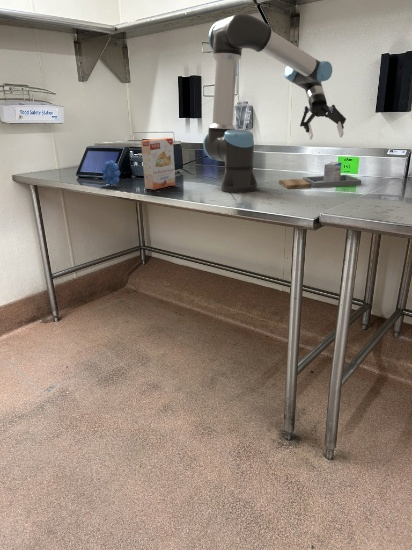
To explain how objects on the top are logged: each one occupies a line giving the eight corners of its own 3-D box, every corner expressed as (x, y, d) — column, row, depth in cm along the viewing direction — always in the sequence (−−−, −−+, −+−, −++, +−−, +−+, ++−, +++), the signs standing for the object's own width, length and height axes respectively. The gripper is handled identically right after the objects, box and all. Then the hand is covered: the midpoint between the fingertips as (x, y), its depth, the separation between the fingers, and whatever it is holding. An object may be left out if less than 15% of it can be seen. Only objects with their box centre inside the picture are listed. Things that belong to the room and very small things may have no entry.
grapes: (128, 185, 191) (125, 159, 187) (117, 188, 186) (114, 161, 182) (111, 184, 198) (107, 158, 193) (100, 186, 193) (96, 160, 188)
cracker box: (154, 191, 176) (149, 140, 168) (144, 190, 180) (139, 140, 172) (176, 186, 186) (173, 137, 178) (167, 184, 189) (163, 137, 181)
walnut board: (287, 189, 169) (287, 185, 168) (279, 183, 181) (279, 180, 180) (310, 187, 170) (311, 183, 169) (301, 182, 182) (301, 178, 181)
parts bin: (313, 187, 169) (314, 182, 168) (302, 181, 182) (302, 177, 182) (360, 185, 170) (361, 180, 169) (346, 179, 184) (346, 174, 183)
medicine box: (333, 185, 171) (334, 164, 168) (323, 185, 174) (324, 164, 170) (340, 182, 177) (341, 162, 174) (330, 182, 180) (331, 161, 176)
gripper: (340, 103, 191) (351, 140, 183) (288, 107, 189) (296, 144, 181) (346, 91, 184) (357, 128, 176) (291, 94, 182) (300, 132, 174)
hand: (326, 136), depth 178 cm, fingers open, 13 cm apart
